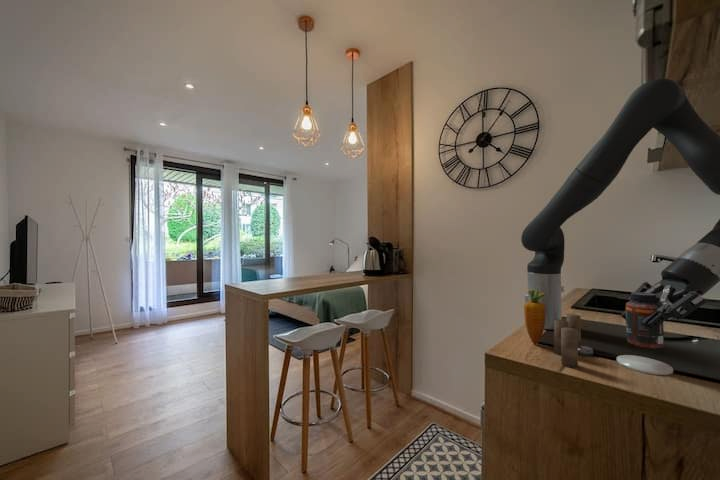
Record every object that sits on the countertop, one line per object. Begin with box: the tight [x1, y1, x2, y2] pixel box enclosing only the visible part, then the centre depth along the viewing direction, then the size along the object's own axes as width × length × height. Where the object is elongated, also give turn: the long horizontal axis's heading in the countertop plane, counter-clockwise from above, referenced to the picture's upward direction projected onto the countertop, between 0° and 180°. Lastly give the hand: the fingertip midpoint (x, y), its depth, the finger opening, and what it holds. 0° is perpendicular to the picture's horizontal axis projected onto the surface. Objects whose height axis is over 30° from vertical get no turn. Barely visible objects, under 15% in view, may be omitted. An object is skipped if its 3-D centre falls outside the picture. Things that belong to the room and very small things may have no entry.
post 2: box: [565, 313, 582, 346], centre depth 78 cm, size 3×3×8 cm
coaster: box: [616, 354, 674, 376], centre depth 65 cm, size 9×9×1 cm
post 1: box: [553, 319, 569, 356], centre depth 73 cm, size 3×3×8 cm
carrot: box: [523, 289, 545, 345], centre depth 79 cm, size 5×5×15 cm
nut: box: [578, 345, 594, 357], centre depth 73 cm, size 4×4×1 cm
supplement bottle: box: [625, 291, 665, 349], centre depth 65 cm, size 6×6×11 cm
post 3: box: [560, 327, 579, 369], centre depth 66 cm, size 3×3×8 cm
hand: (635, 322), depth 65 cm, fingers closed on supplement bottle, 6 cm apart
